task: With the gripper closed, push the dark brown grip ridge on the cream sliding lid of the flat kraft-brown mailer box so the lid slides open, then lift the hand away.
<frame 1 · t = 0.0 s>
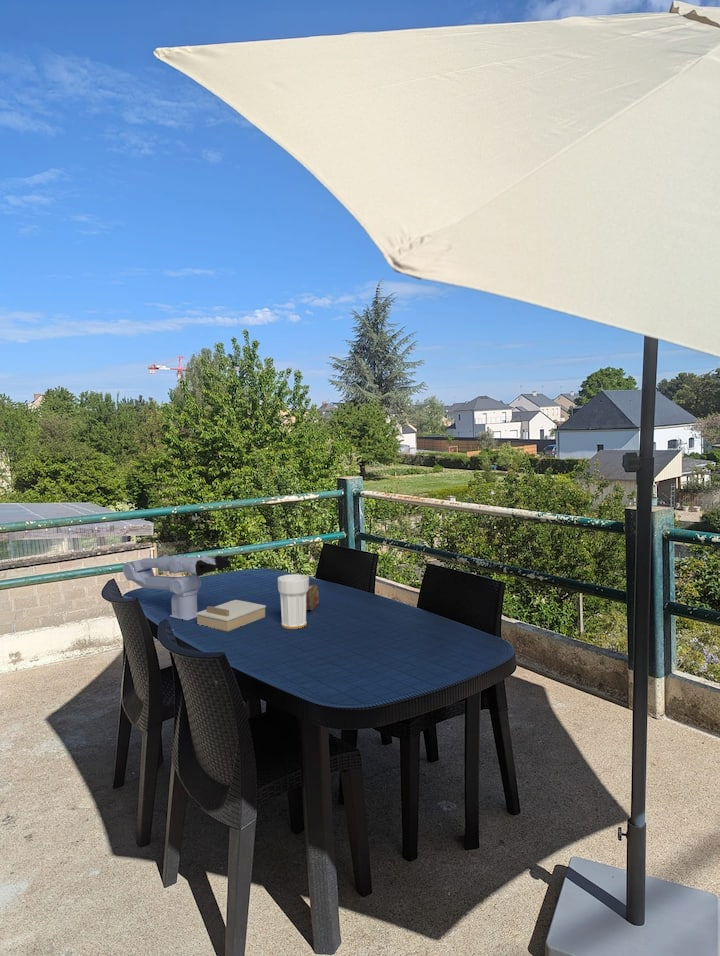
hand: (222, 566, 237), 22 cm above the table, tool horizontal, fingers open, 7 cm apart
mailer lid: (231, 607, 243), point 5 cm above the table, slide at 0.0 cm
tin: (311, 608, 260), on the table
cup: (294, 625, 238), on the table
mailer box: (231, 620, 243), on the table
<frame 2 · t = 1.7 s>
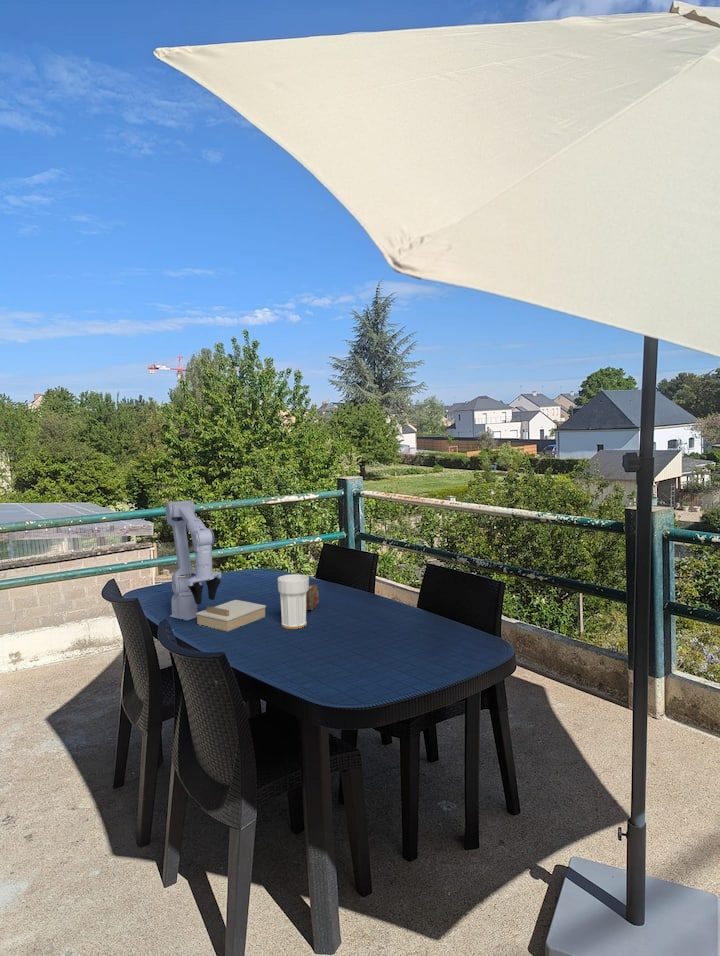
hand: (205, 601, 232), 10 cm above the table, tool pointing down, fingers open, 6 cm apart
nothing on the table moved.
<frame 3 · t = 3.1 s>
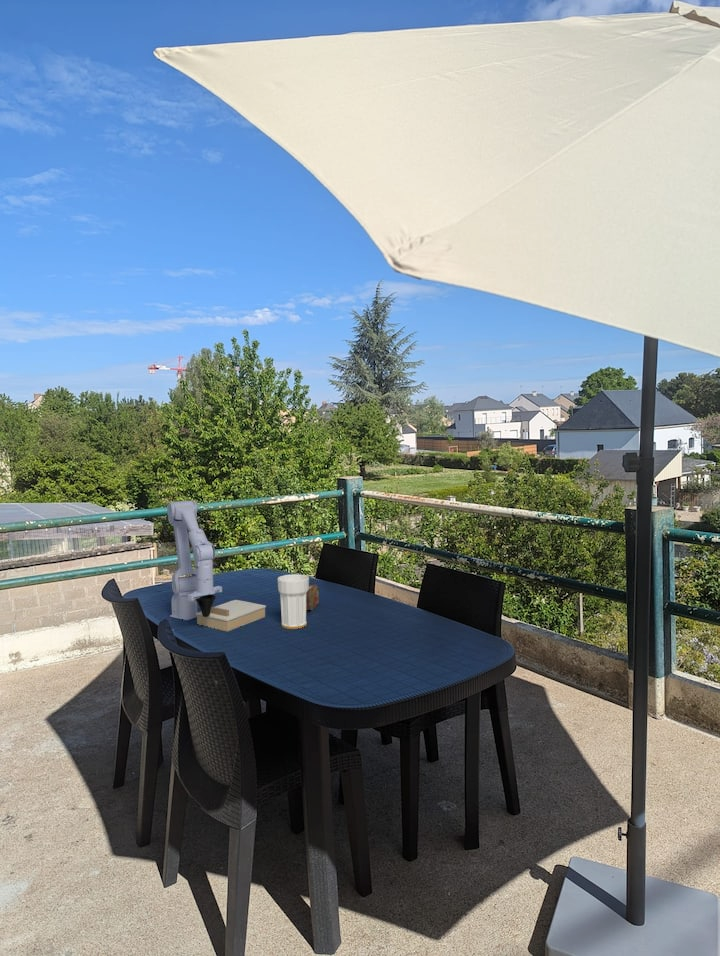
hand: (206, 616, 232), 5 cm above the table, tool pointing down, fingers closed
nothing on the table moved.
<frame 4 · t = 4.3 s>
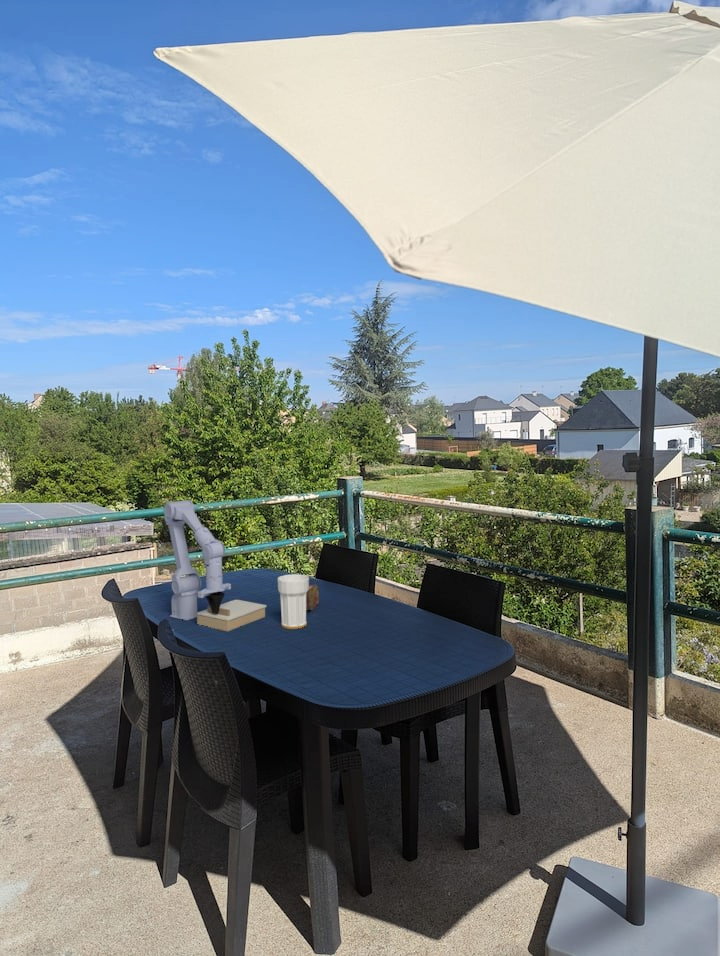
hand: (215, 612, 236), 5 cm above the table, tool pointing down, fingers closed
mailer lid: (232, 607, 243), point 5 cm above the table, slide at 0.4 cm, touching gripper
everything else where it was.
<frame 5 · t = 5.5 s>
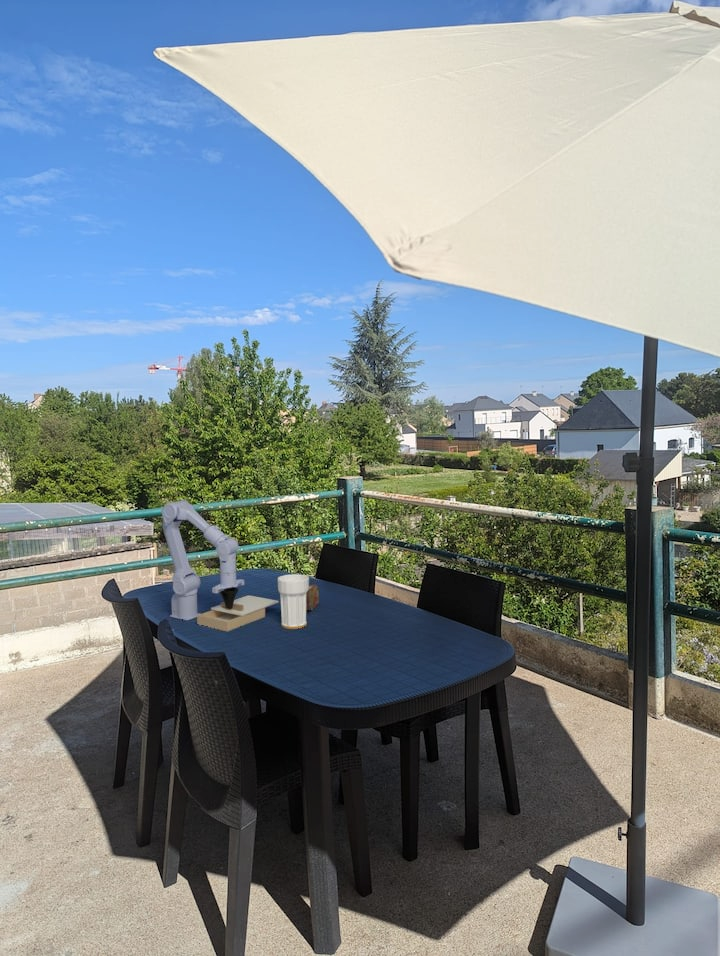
hand: (229, 608, 242), 5 cm above the table, tool pointing down, fingers closed
mailer lid: (245, 602, 249), point 5 cm above the table, slide at 7.4 cm, touching gripper
everything else where it was.
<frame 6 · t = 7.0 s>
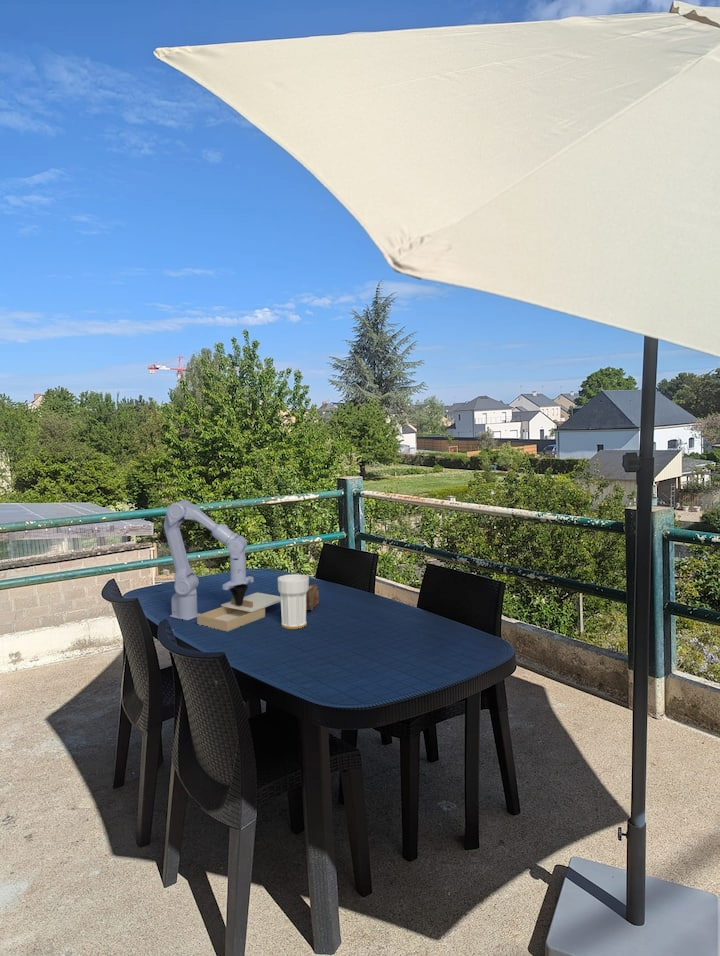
hand: (239, 604, 246), 5 cm above the table, tool pointing down, fingers closed
mailer lid: (254, 599, 253), point 5 cm above the table, slide at 12.6 cm, touching gripper
everything else where it was.
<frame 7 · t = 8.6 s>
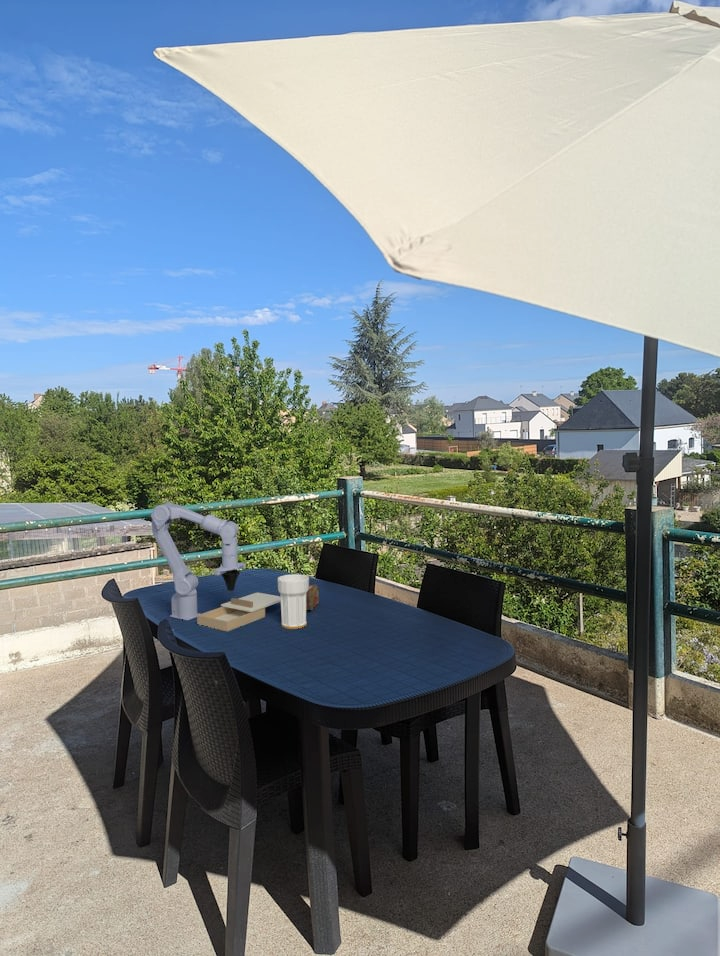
hand: (230, 590, 247), 10 cm above the table, tool pointing down, fingers closed
mailer lid: (254, 599, 253), point 5 cm above the table, slide at 12.6 cm
everything else where it was.
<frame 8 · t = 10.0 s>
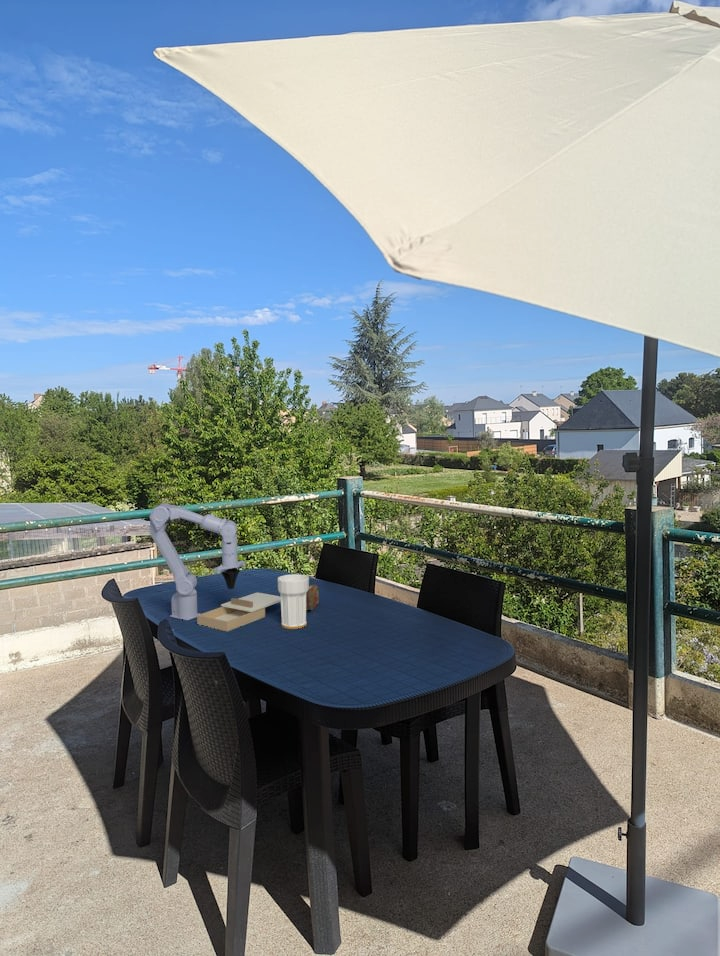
hand: (230, 588, 249), 10 cm above the table, tool pointing down, fingers closed
nothing on the table moved.
at the end: mailer lid slide at 12.6 cm; tin moved 0.3 cm from its start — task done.
